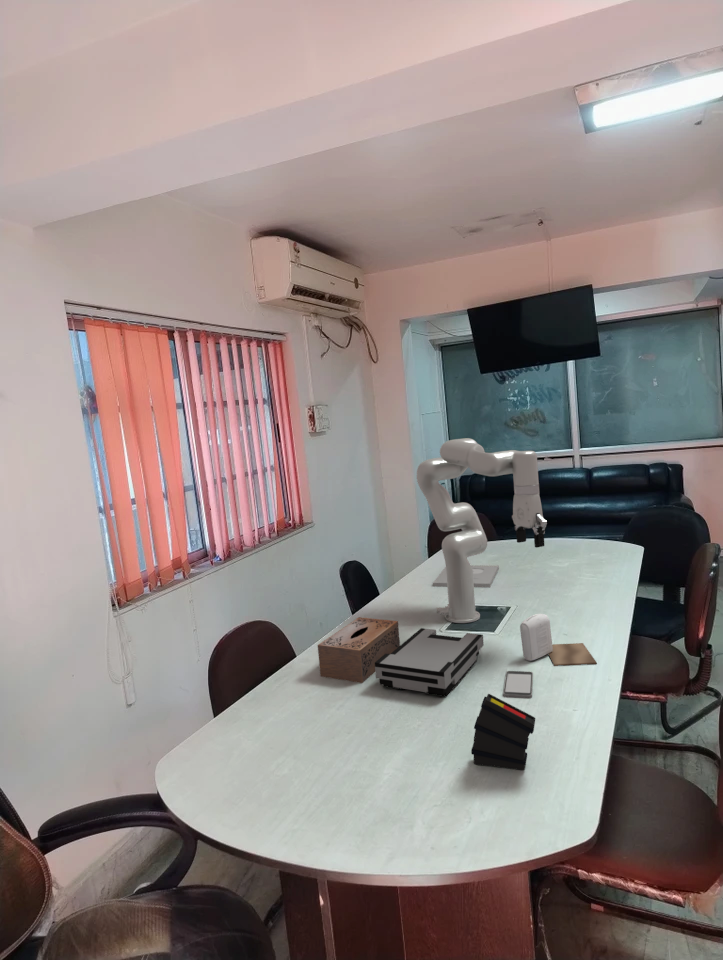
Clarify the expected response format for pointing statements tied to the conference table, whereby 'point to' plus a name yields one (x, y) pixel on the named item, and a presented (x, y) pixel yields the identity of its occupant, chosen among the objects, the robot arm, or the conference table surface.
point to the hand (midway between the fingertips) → (530, 544)
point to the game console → (429, 662)
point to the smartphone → (518, 684)
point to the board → (571, 654)
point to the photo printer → (536, 636)
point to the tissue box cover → (357, 649)
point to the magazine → (501, 735)
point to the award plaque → (481, 576)
